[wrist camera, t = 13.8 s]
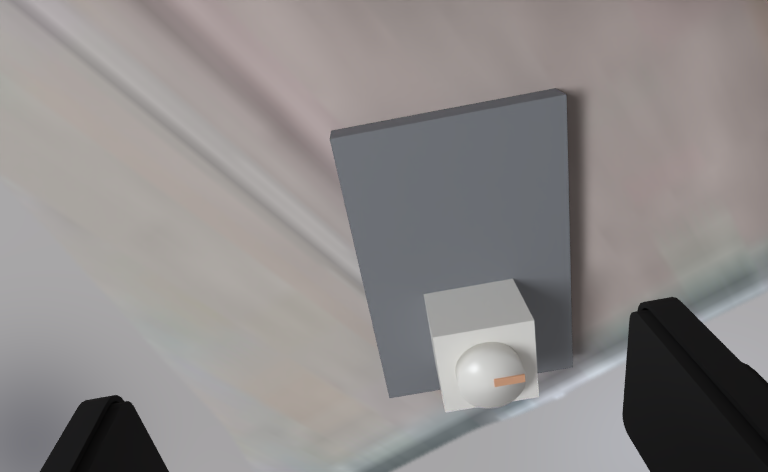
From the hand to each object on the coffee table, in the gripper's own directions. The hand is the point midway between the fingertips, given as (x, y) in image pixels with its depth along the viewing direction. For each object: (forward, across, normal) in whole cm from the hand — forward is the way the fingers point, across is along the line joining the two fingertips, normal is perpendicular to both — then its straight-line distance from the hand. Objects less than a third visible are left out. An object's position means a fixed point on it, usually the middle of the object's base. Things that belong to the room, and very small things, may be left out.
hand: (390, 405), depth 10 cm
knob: (+24, -6, +18) cm, 31 cm away
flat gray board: (+26, -6, +13) cm, 30 cm away
